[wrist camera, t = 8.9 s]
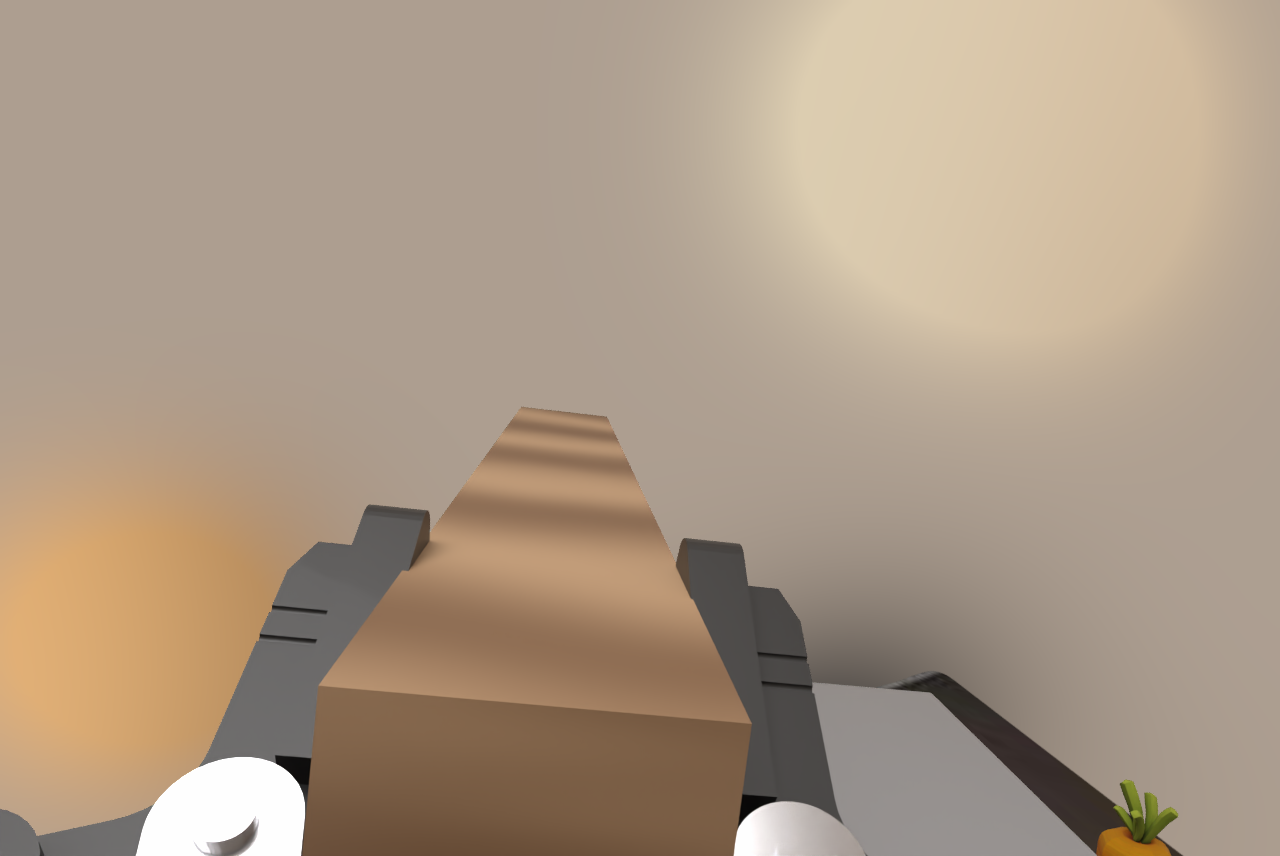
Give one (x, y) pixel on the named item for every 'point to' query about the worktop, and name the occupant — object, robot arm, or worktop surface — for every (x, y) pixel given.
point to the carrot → (1136, 827)
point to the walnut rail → (532, 678)
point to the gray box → (927, 781)
